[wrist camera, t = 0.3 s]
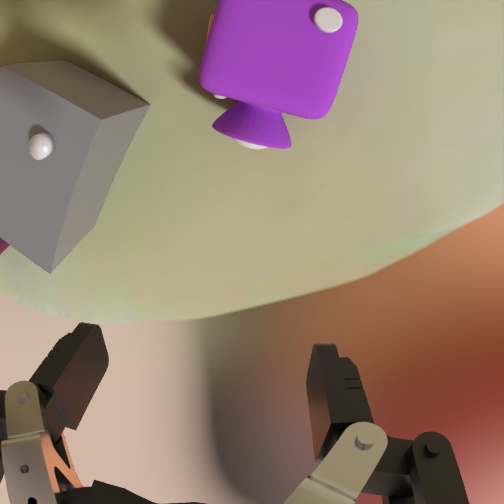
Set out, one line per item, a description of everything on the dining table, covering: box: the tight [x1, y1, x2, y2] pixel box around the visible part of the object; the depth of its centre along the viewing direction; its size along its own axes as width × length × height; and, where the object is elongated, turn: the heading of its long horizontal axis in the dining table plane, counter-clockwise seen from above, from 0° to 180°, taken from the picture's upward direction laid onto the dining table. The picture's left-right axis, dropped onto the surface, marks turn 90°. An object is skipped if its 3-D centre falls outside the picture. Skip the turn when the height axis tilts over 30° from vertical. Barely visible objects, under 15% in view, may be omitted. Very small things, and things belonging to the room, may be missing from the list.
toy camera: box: [199, 0, 358, 149], centre depth 21 cm, size 11×14×10 cm
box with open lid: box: [0, 60, 150, 274], centre depth 25 cm, size 17×12×11 cm
